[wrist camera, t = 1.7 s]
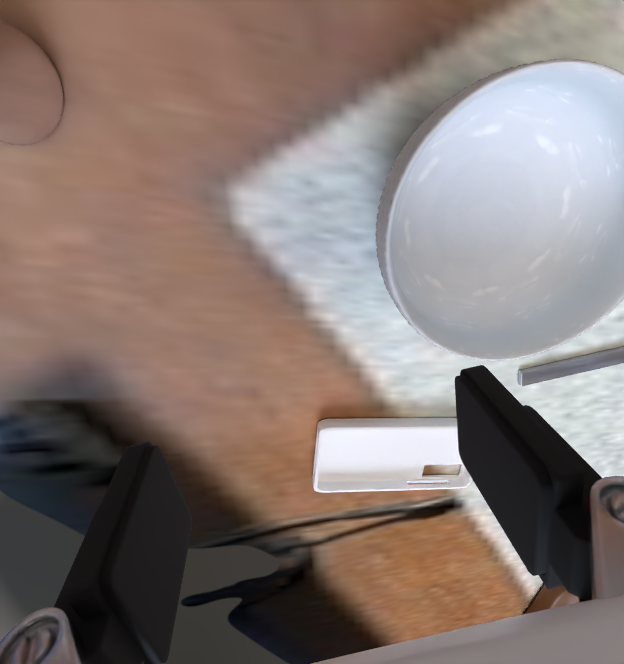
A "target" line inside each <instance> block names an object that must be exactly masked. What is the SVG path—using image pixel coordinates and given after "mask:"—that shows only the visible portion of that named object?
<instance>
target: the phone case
mask: <svg viewBox="0 0 624 664" xmlns="http://www.w3.org/2000/svg"><path fill="white" fill-rule="evenodd" d="M455 464H460V465H461V468H460V471H459V474H458V475H422V473H423V469H424V466H425V465H455ZM312 480H313V487H314V490H315V491H317V492H323V493H327V492H361V491H394V490H427V489H459V488H465V487H468V486H469V485H470V484H471V481H472V478H471V476H470V474H469V473H468V471H467V469H466V468H465V466H464V464H463V463H462V460H461V458H460V455H459V449H458V431H457V418H353V419H324V420H321V421H319V422H318V425H317V436H316V446H315V456H314V466H313V477H312ZM432 482H448V484H425V485H408V484H407V483H432Z"/></svg>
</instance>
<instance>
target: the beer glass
mask: <svg viewBox="0 0 624 664" xmlns="http://www.w3.org/2000/svg"><path fill="white" fill-rule="evenodd" d="M63 104H64V98H63V90H62V85H61V81H60V78H59V76H58V73H57V71H56V69H55V67H54V65H53V63H52V62H51V60H50V59H49V57H48V56H47V54H46V53H45V52H44V51H43V50H42V48H41V47H40V46H39V45H38V44H37V43H36V42H35V41H34V40H32V39H31V38H30V37H29V36H28V35H26V34H25V33H24V32H22V31H20V30H19V29H17V28H15V27H13V26H11V25H9V24H6V23H3V22H0V142H2V143H6V144H11V145H31V144H35V143H37V142H40V141H42V140H43V139H45V138H47V137H48V136H49V135H50V134H51V133H52V132H53V131H54V130H55V129H56V127H57V125H58V124H59V122H60V119H61V116H62V112H63Z"/></svg>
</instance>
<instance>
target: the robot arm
mask: <svg viewBox="0 0 624 664" xmlns="http://www.w3.org/2000/svg"><path fill="white" fill-rule="evenodd" d="M455 393H456V412H457V431H458V449H459V455H460V458H461V460H462V463H463V464H464V466H465V468H466V469H467V471H468V473H469V474H470V476H471V478H472V479H473V481H474V482H475V484H476V486H477V487H478V489H479V491H480V492H481V494H482V496H483V497H484V499H485V501H486V502H487V504H488V505H489V507H490V509H491V510H492V512H493V514H494V515H495V517H496V519H497V520H498V522H499V524H500V525H501V527H502V528H503V530H504V532H505V533H506V535H507V537H508V538H509V540H510V542H511V543H512V545H513V547H514V548H515V550H516V551H517V553H518V555H519V556H520V558H521V560H522V561H523V563H524V565H525V566H526V568H527V569H528V571H529V572H530V573H531V574H532V575H533V576H535V575H539V576H540V578H541V579H542V581H543V583H544V584H545V586H546V587H547V589H552V588H556V587H560V586H564V587H565V588H566V590H567V591H568V593H570V594H572V595H575V596H576V597H577V603H575V604H571V605H566V606H561V607H556V608H552V609H547V610H542V611H537V612H532V613H528V614H523V615H518V616H514V617H510V618H505V619H501V620H497V621H492V622H488V623H484V624H479V625H475V626H471V627H466V628H462V629H457V630H453V631H449V632H444V633H440V634H436V635H431V636H427V637H423V638H418V639H414V640H410V641H405V642H401V643H397V644H393V645H388V646H384V647H380V648H376V649H372V650H367V651H363V652H359V653H355V654H350V655H346V656H342V657H338V658H333V659H329V660H325V661H321V662H317V663H312V664H624V477H623V476H612V477H605V478H603V479H602V477H601V476H600V475H599V474H598V473H597V472H596V471H595V470H594V469H593V468H592V467H591V466H590V465H589V464H588V463H587V462H586V461H585V460H584V459H583V458H582V457H581V456H580V455H579V454H578V453H577V452H576V451H575V450H574V449H573V448H572V447H571V446H570V445H569V444H568V443H567V442H566V441H565V440H564V439H563V438H562V437H561V436H560V435H559V434H558V433H557V432H556V431H555V430H554V429H553V428H552V427H551V426H550V425H549V424H548V423H547V422H546V421H545V420H544V419H543V418H542V417H541V416H540V415H539V414H538V413H537V412H536V411H535V410H534V409H533V408H532V407H530V406H527V405H525V406H522V405H521V404H520V403H519V401H518V400H517V399H516V398H515V397H514V396H513V395H512V394H511V393H510V392H509V391H508V390H507V389H506V388H505V387H504V386H503V385H502V384H501V383H500V382H499V381H498V380H497V379H496V377H495V376H494V375H493V374H492V373H491V372H490V371H489V370H488V369H487V368H486V367H485V366H483V365H480V366H476V367H471V368H467V369H463V370H461V373H460V376H456V377H455ZM191 528H192V517H191V513H190V511H189V508H188V506H187V504H186V502H185V500H184V498H183V496H182V494H181V492H180V489H179V487H178V485H177V483H176V481H175V479H174V477H173V475H172V473H171V470H170V468H169V466H168V464H167V462H166V460H165V458H164V456H163V454H162V452H161V449H160V448H159V447H158V446H153V445H152V444H151V443H150V442H145V443H141V444H137V445H132V446H128V447H127V448H126V449H125V450H124V453H123V455H122V457H121V460H120V462H119V464H118V466H117V469H116V471H115V473H114V476H113V478H112V480H111V482H110V485H109V487H108V489H107V492H106V494H105V496H104V498H103V501H102V503H101V505H100V506H99V508H98V509H97V511H96V513H95V515H94V518H93V520H92V522H91V524H90V527H89V529H88V531H87V533H86V536H85V538H84V540H83V542H82V545H81V547H80V549H79V552H78V554H77V556H76V558H75V561H74V563H73V565H72V567H71V570H70V572H69V574H68V576H67V579H66V581H65V583H64V586H63V588H62V590H61V592H60V595H59V597H58V599H57V601H56V604H55V606H54V608H45V609H42V610H39V611H36V612H34V613H32V614H31V615H29V616H28V617H26V618H24V619H23V620H22V621H20V622H19V623H18V624H17V625H16V626H14V627H13V628H12V629H11V630H10V631H9V632H8V633H7V634H6V635H5V636H4V638H3V639H2V640H1V641H0V664H162V663H165V662H166V661H167V658H168V655H169V650H170V644H171V639H172V633H173V628H174V622H175V617H176V611H177V606H178V600H179V595H180V589H181V584H182V578H183V573H184V567H185V562H186V556H187V550H188V545H189V539H190V534H191Z"/></svg>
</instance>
